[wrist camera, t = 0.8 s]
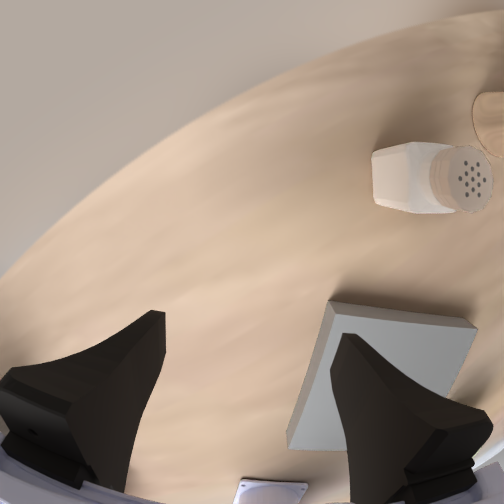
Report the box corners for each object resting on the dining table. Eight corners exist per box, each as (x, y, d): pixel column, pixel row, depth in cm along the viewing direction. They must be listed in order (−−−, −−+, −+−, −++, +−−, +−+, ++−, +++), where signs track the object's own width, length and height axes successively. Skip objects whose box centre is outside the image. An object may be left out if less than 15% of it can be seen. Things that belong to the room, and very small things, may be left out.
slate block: (406, 428, 26) (416, 445, 23) (285, 427, 26) (287, 449, 23) (460, 315, 23) (477, 329, 20) (326, 297, 23) (335, 313, 20)
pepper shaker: (414, 151, 20) (496, 141, 11) (417, 204, 21) (498, 221, 12) (367, 150, 20) (437, 132, 11) (370, 205, 21) (441, 222, 12)
